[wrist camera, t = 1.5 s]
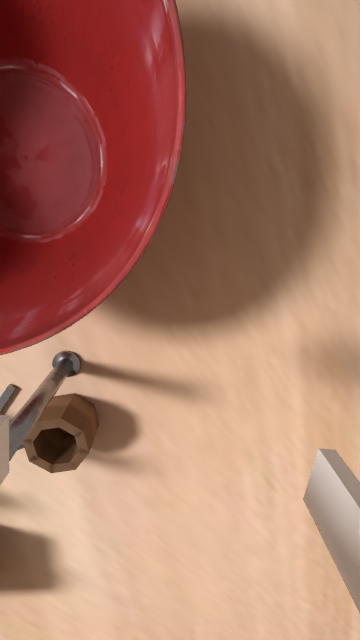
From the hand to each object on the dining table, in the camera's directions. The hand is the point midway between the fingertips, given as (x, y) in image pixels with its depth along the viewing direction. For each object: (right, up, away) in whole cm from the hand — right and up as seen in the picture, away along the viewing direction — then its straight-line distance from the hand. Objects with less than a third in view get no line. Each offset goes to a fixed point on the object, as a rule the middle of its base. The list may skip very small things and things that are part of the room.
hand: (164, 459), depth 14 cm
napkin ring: (-12, -6, +25) cm, 28 cm away
